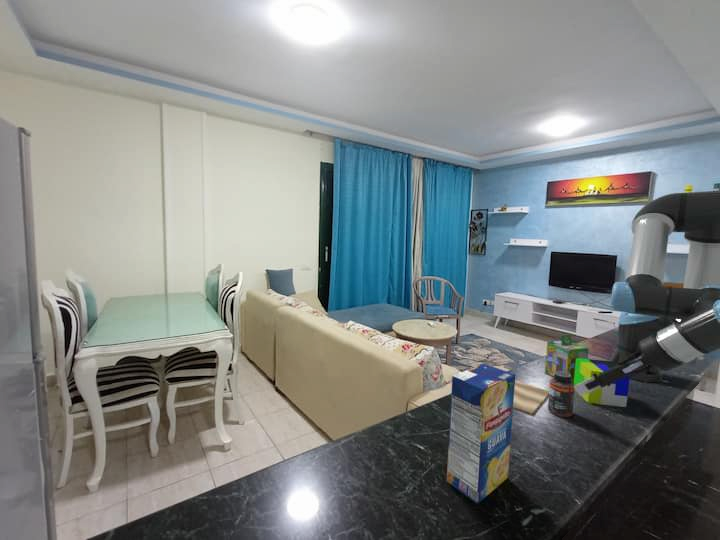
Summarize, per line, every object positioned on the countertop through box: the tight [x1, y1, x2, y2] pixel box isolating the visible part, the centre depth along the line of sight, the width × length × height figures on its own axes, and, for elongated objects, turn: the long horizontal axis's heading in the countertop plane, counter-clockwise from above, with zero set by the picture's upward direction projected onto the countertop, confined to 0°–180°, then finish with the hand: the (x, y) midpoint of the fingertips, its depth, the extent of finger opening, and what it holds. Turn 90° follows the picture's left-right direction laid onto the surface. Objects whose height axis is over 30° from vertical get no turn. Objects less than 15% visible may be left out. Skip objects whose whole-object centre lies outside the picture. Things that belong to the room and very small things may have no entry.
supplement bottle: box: [547, 371, 576, 418], centre depth 91 cm, size 6×6×11 cm
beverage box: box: [446, 363, 516, 505], centre depth 65 cm, size 7×11×22 cm, turn 128°
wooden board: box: [513, 379, 549, 416], centre depth 101 cm, size 18×12×1 cm, turn 136°
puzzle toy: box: [573, 358, 630, 408], centre depth 101 cm, size 10×10×10 cm
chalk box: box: [544, 333, 589, 383], centre depth 115 cm, size 9×9×15 cm
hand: (578, 390), depth 87 cm, fingers closed
